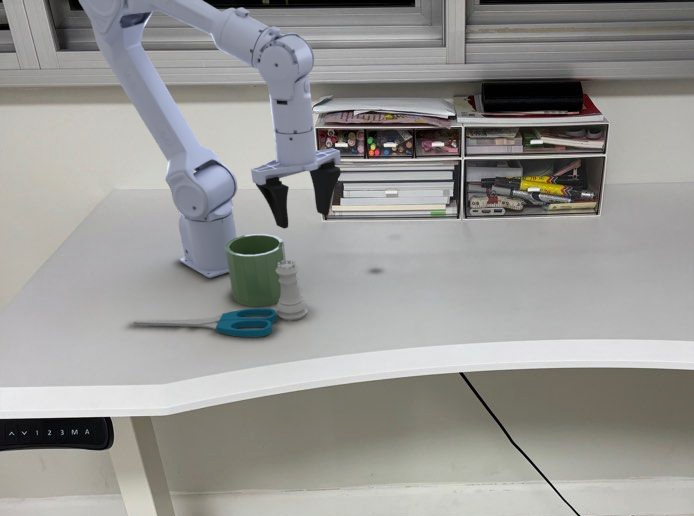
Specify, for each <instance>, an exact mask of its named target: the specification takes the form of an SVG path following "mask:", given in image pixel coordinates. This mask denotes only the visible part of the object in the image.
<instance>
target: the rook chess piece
mask: <svg viewBox="0 0 694 516" xmlns="http://www.w3.org/2000/svg"><path fill="white" fill-rule="evenodd" d="M277 265H278V267H277V269H276V273H277V274H278V275H279V276H280V278H279V280H278V281H279V282H280V285H281V295H280V298H279V302H277V303H276V310H277V311H276V316H277V317H279V318H280V319H281V320H285V321H291V322H292V321H298V320H301V319H303V318H304V317H305V316H306V315H307V313H308V311H309V310H308V308H307V306H308V305H307V302H306V300H305V299H304V298H303V296H302V295H301V293H300V289H299V284H298V281H299V277H298V276H297V274H298V272H299V271H300V268H299V266H298V265H296V261H295V260H291V259H286V263H285V261H284V260H283V261H281V264H280V262H278V264H277Z"/></svg>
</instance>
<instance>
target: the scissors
mask: <svg viewBox="0 0 694 516" xmlns="http://www.w3.org/2000/svg"><path fill="white" fill-rule="evenodd" d="M250 316H252V317H250ZM253 316H255V317H253ZM256 316H263V317H256ZM264 316H265V317H264ZM277 317H278V316H277V311H276V310H275V309H273V308H270V307H269V308H267V307H258V308H257V307H256V308H242V309H237V310H232V311H228V312H224V313H222V314H221V315H219V316H214V317H207V318H192V319H191V318H190V319H189V318H188V319H169V320H166V319H165V320H145V321H144V320H143V321H140V320H139V321H133V325H134V326H164V327H165V326H168V327H200V328H210V329H214V330H215V331H216V332H217V333H221V334H224V335H228V336H234V337H243V338H244V337H245V338H246V337H247V338H257V337H258V338H259V337H265V336H268V335H270V334H271V333H272V332H273V325H272V324H273V323H275V322H276V321H277V319H278V318H277ZM250 328H251V329H250Z"/></svg>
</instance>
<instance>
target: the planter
mask: <svg viewBox="0 0 694 516" xmlns="http://www.w3.org/2000/svg"><path fill="white" fill-rule="evenodd" d="M225 253H226V259H227V265H228V271H229V272H228V277H229V282H230V288H231V292H232V298H233V300H234V301H235V302H236V303H237V304H240V305H242V306H245V307H246V306H248V307H266V306H271V305H274V304H277V303H278V302H279V298H280V295H281V285H280V282H279V281H278V280H279V278H280V276H279V275H278V274H277V273H276V269H277V267H278V265H277V264H278V262H280V264H281V261H283V260H284V261H285V263H287V257H286V249H285V243H284V241H283V238H281V237H279V236H277V235H275V234H268V233H253V234H251V233H250V234H246V235H241V236H237V238H234V239H232V240H231V241H229V242H228V243H227V244H226V246H225Z"/></svg>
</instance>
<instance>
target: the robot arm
mask: <svg viewBox="0 0 694 516" xmlns="http://www.w3.org/2000/svg"><path fill="white" fill-rule="evenodd" d="M78 2H79V4H80V5H81V7H82V9H83V10H84V13H85V14H86V16H87V17H88V19H89V21H90V24H91V28H92V31H93V34H94V38H95V42H96V45H97V47H98V50H99V52H100V54H101V55H102V56H103V58H104V59H105V61H106V63H107V64H108V66H109V68H110V70H111V71H112V73H113V74H114V76H115V77H116V79H117V81H118V82H119V84H120V86H121V87H122V89H123V90H124V92H125V94H126V96H127V97H128V99H129V100H130V102H131V104H132V106H133V107H134V109H135V111H136V112H137V113H138V115H139V117H140V118H141V120H142V122H143V123H144V125H145V126H146V128H147V130H148V131H149V133H150V135H151V136H152V138H153V139H154V141H155V143H156V144H157V146H158V148H159V149H160V151H161V152H162V154H163V156H164V157H165V159H166V161H167V166H166V172H165V177H164V180H165V182H166V184H167V185H168V188H169V189H170V192H171V196H172V197H171V198H172V202H173V204H174V206H175V207H176V209H177V210H178V212H179V213H180V215H179V217H178V229H179V234H180V240H181V244H182V250H183V255H184V256H183V257H181V258H179V262H181V263H182V264H184V265H185V266H187V267H189V268H191V269H192V270H194V271H196V273H197V272H198V273H199V274H201V275H202V276H205V277H206V278H208V279H212V278H215V277H216V278H217V277H218V276H222V275H224V274H227V273H229V271H228V265H227V259H226V253H225V246H226V244H227V243H228V242H229V241H231V240H232V239H234V238H237V237H238V236H237V229H236V224H235V218H234V210H233V206H234V204H233V203H234V202H233V198H234V197H235V196H236V195H237V193H238V180H237V178H236V175H235V174H234V172H233V171H232V170H231V168H229V166H227V165H225V163H223V162H222V161H221V160H220V157H219V155H217V153H216V151H213V150H212V149H210V148H208V147H206V146H203V145H202V144H200V142H199V140H198V139H197V137H196V135H195V133H194V132H193V130H192V129H191V127H190V125H189V123H188V122H187V120H186V118H185V117H184V115H183V113H182V111H181V110H180V108H179V106H178V105H177V103H176V102H175V100H174V98H173V96H172V94H171V92H170V91H169V90H168V88H167V86H166V85H165V83H164V80H163V79H162V78H161V76H160V75H159V74H160V73H159V72H158V71H157V69H156V67H155V66H154V64H153V62H152V61H151V59H150V57H149V56H148V54H147V52H146V50H145V49H144V47H143V46H142V38H143V33H144V30H145V26H146V25H147V24H148V21H149V20H150V18H151V16H152V14H153V13H154V12H160V13H161V14H164V15H165V16H168V17H171V18H173V19H175V20H176V21H177V20H178V21H179V22H181V23H183V24H185V25H188V26H190V27H192V28H194V29H197V30H198V31H201V32H203V33H205V34H207V35H209V36H211V38H212V40H213V42H214V45H215V47H216V49H218V50H219V51H221V52H222V53H225V54H227V55H229V56H231V57H232V58H234V59H236V60H238V61H240V62H242V63H243V64H246V65H248V66H249V67H252V68H253V69H255V70H257V71H258V73H259V75H260V77H261V78H262V79H263V81H264V83H266V85H267V91H268V96H269V102H270V104H269V105H270V112H271V120H272V128H273V138H274V139H273V140H274V146H275V154H276V158H275V159H272V160H270V161H268V162H266V163H264V164H261V165H259V166H256V167H253V168H251V169H250V172H251V180H252V183H254V184H255V186H256V187H257V188H258V190H259V192H260V193H261V194H262V197H264V199H265V201H266V203H267V204H268V206H269V209H270V211H271V214H272V215H273V219H274V221H275V224H276V226H277V227H279V228H281V229H284V230H285V229H288V228H289V215H288V214H289V213H288V195H289V189H290V187H289V186H288V185H287V184H283V182H282V180H280V179H282V178H286V177H289V176H293V175H296V174H300V173H304V172H309V175H310V178H311V182H312V186H313V191H314V200H315V201H314V202H315V208H316V211H317V213H318V214H321V215H323V216H329V215H330V209H331V204H332V203H331V202H332V197H333V194H334V190H335V187H336V185H337V182H338V180H339V178H340V177H341V174H342V173H341V168H340V167H338V166H336V165H340V164H342V161H341V150H338V149H335V148H333V147H331V148H326V149H319V150H316V139H315V138H316V137H315V129H314V127H315V126H314V116H313V115H314V114H313V104H312V95H311V85H310V76H309V74H310V73H311V71H312V70H313V68H314V64H315V55H314V50H313V48H312V47H311V44H310V43H309V42H308V41H307V40H306V39H304V38H303V37H302V36H301V35H300V34H298V33H297V32H288V33H286V34H282V33H281V29H280V27H277V26H275V25H273V26H269V25H267V24H265V23H262V21H261V22H260V21H259V20H257V19H255V18H253V17H252V16H250V11H249V10H248V9H246V8H245V7H241V6H240V7H238V8H234V7H230V8H227V9H225V10H223V11H221V10H219V9H217V7H214V6H213V5H211V4H209V3H208V2H206V1H204V0H78Z"/></svg>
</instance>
